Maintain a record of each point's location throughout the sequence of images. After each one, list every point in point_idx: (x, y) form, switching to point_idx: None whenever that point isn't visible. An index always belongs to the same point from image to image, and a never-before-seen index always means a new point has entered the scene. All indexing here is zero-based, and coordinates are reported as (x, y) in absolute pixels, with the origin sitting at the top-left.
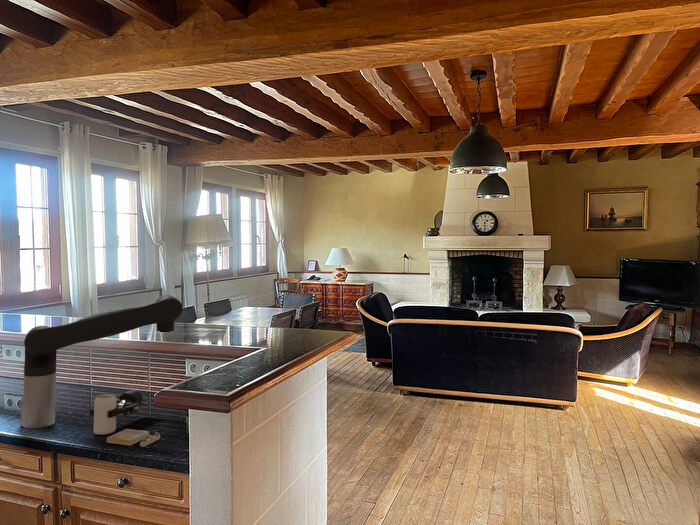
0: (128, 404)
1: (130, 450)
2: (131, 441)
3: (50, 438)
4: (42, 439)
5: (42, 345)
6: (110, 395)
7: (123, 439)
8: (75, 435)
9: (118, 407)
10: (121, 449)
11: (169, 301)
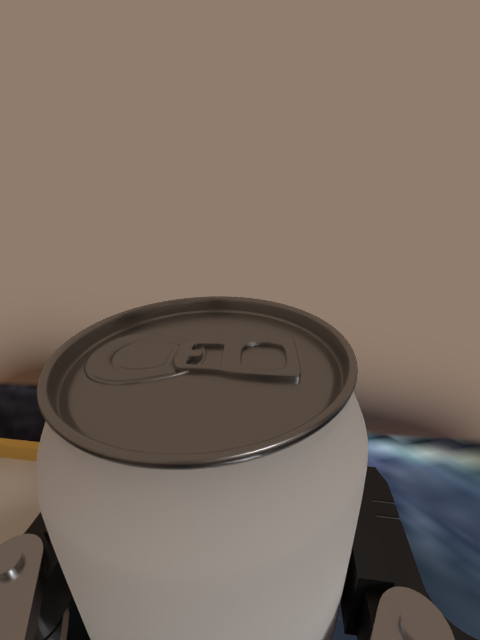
0: None
1: (4, 415)
2: None
3: (460, 471)
4: (475, 453)
5: None
6: (132, 378)
7: (29, 442)
8: None
9: (32, 550)
10: (43, 418)
11: None
